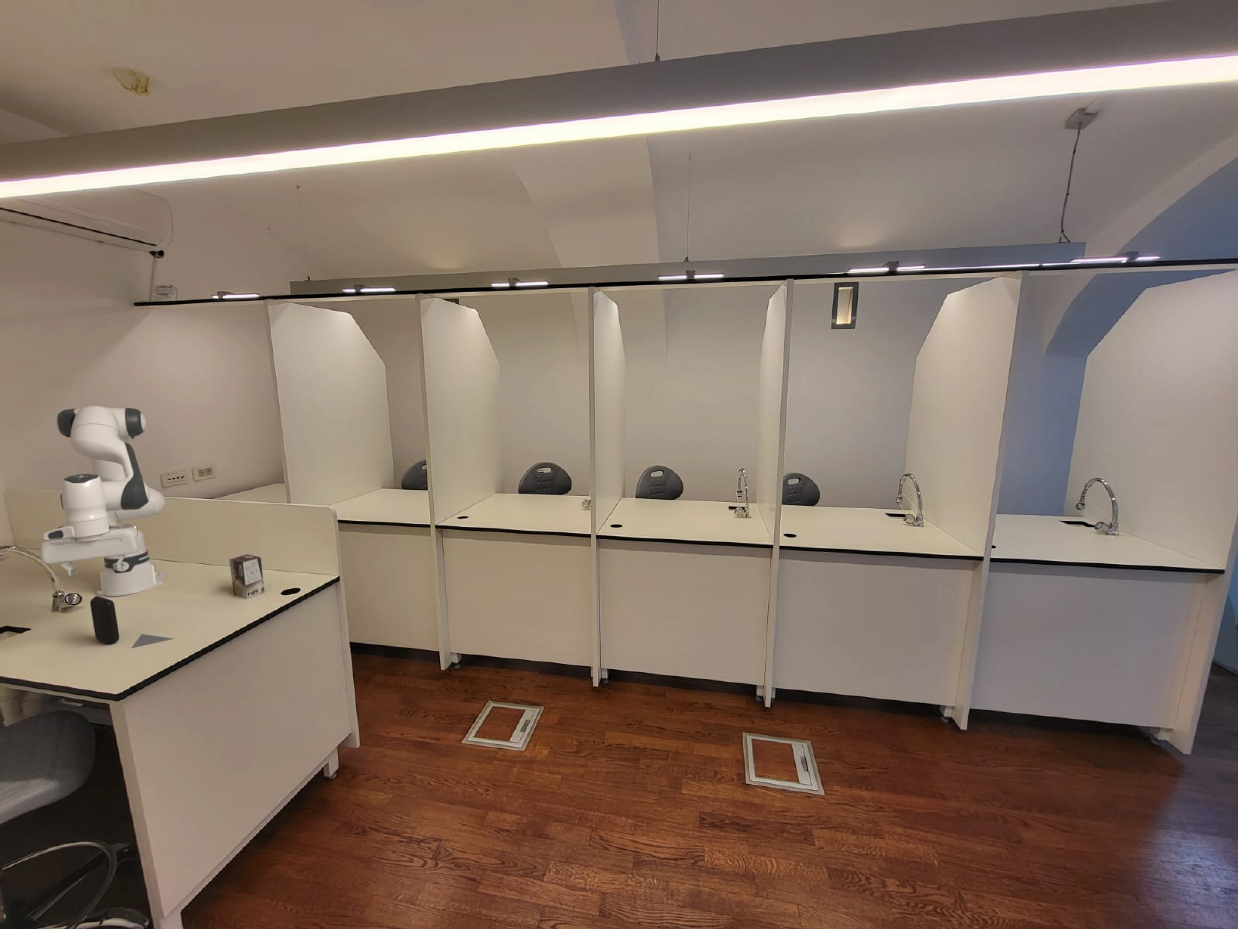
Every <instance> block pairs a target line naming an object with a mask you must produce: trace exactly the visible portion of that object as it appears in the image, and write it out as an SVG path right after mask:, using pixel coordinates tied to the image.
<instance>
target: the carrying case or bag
mask: <svg viewBox="0 0 1238 929" xmlns="http://www.w3.org/2000/svg"><path fill="white" fill-rule="evenodd" d="M89 605H90V611H91V617H92V625H93V628H94V629H93V631H94V635H95V638H96V640H98V641H100V642H103V643H105V644H108V645H114V644H115V645H116V643H117V642H118V641H119V640H120V632H119V626H118V620H117V612H116V607H115V603H114V601H113V600H112V599H109V598H106V597H103V596H100V595H95V596H94V597H92V599H90V602H89Z"/></svg>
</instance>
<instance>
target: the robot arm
mask: <svg viewBox="0 0 1238 929" xmlns="http://www.w3.org/2000/svg"><path fill="white" fill-rule="evenodd" d="M55 426H56V428H57V430H58V431H59V433H60V435H62V436H63V437H66V438H69V439H70V442H71V447H72V449H74V451H75V452H76V453H78V455H81V456H83V457H85V458H88V459H90V464H91V470H92V473H81V474H73V475H69V476H67V477H65V478H63V480H62V483H61V493H60V495H59V496H60V498H59V499H60V503H61V508H62V510H64V511H65V514H66V515H65V516H66V517H65V521H64V522H65V525H61V526H59V527H56V528H53V529H52V528H51V529H50V530H48V531H46V532H44V533H43V534H42V539H43V540H45V541H43V542H42V543H41V546H40V560H41V561H42V562H43V563H44V564H46V565H52V564H61V565H60V566H61V567H63V568H64V569H65V570H66V571H67V572H68V573H67V574H68V576H69V577H71V576H77V575H78V574H79V568H78V567H76V568H74V567H73V566H71V564H72V562H76V561H83V560H91V559H99V558H103V565H104V567H105V569H103V570H102V571H101V572H100V582H101V583H100V585H101V589H99V590H97V591H96V596H100V595H101V596H107V597H119V596H126V595H132V594H136V593H140V592H144V591H146V590H150V589H153V588H155V587H158V586H161V585H164V584H165V572H157V566H156V564H155V562H153V561H152V560H151V559H150V554H149V549H148V548H147V547H146V540H145V534H144V533H143V532H142V531H141V530H139V529H138V527H137V526H135V525H131V523H130V524H129V523H127V524H124V523H122V522H121V521H122V520H123V521H125V520H135V519H143V518H147V517H148V518H149V517H152V516H156V515H159V514H161V513H162V511H163V510H164V509H165V506H166V499H165V496H164V495H163V494H162V493H161V492H160V491H158V490H156V489H154V488H152V487H149V485H147V484H146V482H145V480H144V477H143V473H142V471H141V467H140V464H139V461H138V458H137V455H136V453H135V450H134V447H133V446H132V444H131V440H134V439H135V438H136V437H138V436H140V435H141V434H143V433H144V432H145V430H146V428H147V420H146V417H145V416H144V414H143V412H142V411H141V410H140V409H137V408H133V407H125V408H123V407H107V406H106V407H105V406H101V405H89V406H85V407H81V408H67V409H62V410H61V411H60V412H58V413H57V416H56V419H55ZM130 438H131V440H130ZM163 583H164V584H163ZM157 585H158V586H157ZM154 586H155V587H154Z"/></svg>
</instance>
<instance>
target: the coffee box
mask: <svg viewBox="0 0 1238 929" xmlns="http://www.w3.org/2000/svg"><path fill="white" fill-rule="evenodd" d="M262 566H263V565H262V557H260V556H256V555H253V554H248V553H247V554H243V555H240V556H237V557H233V558H229V567H230V568H229V569H230V575H231V576H230V577H231V584H232V589H233V595H234V596H235V597H238V598H241V599H245V600H249V599H253V598H254V597H257V596H261V595H263V594H265V586H264V585H265V584H264V576H263V575H264V574H263V567H262Z"/></svg>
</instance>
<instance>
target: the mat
mask: <svg viewBox="0 0 1238 929" xmlns="http://www.w3.org/2000/svg"><path fill="white" fill-rule="evenodd" d="M171 640H175V638H172V637H165V636H157V635H152V634H150V635H149V634H143V633H141V634H140V636H139V637H138V638H137V640H136V641H135V643H134V644H133V645H132V646H131V648H132V649H134V648H138V647H139V648H140V647H143V646H148V645H152V644H156V643H161V642H165V641H171Z"/></svg>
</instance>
